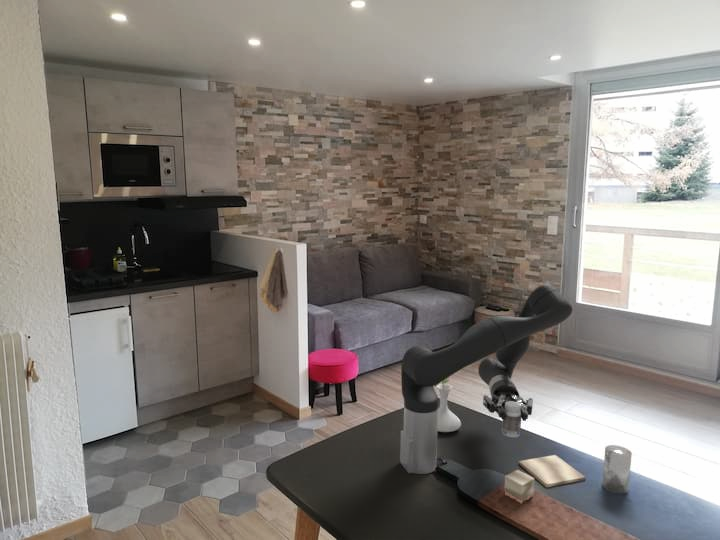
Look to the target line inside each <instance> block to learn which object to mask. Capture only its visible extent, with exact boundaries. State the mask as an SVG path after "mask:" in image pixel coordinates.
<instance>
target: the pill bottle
mask: <svg viewBox="0 0 720 540" xmlns="http://www.w3.org/2000/svg"><path fill="white" fill-rule="evenodd" d="M520 409H521V405H520V404H519V403H518V402H514V401H508V402H506V403H505V409H504V410H505V420H503V419H502V424H501V433H502V434H503V435H504V436H506V437H508V438H517V437H519V436H520V435H521V426H522V425H521V424H522V418H521V415H522V414H521V411H520Z"/></svg>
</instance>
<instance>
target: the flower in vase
mask: <svg viewBox="0 0 720 540" xmlns="http://www.w3.org/2000/svg"><path fill="white" fill-rule="evenodd" d="M449 378H450V377H448V378H446V379H445V380H443V381H442V382H441V383H438V384H436V385H434V386H433V387H436V389H437V390H438V393H439V401H440V402H439V406H438V431H437V432H440V433H450V432H455V431H458V430H459V429H460V427H461V426H462V422H461V420H460V419H459V417H458V416H457V415H456V414H454V413H453V412H452V411H451V410H450V408H449V406H448V398H449V393H450V391H451V390H452V389H453V386H452V385H451V384H448V383H449V381H450V379H449Z"/></svg>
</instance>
